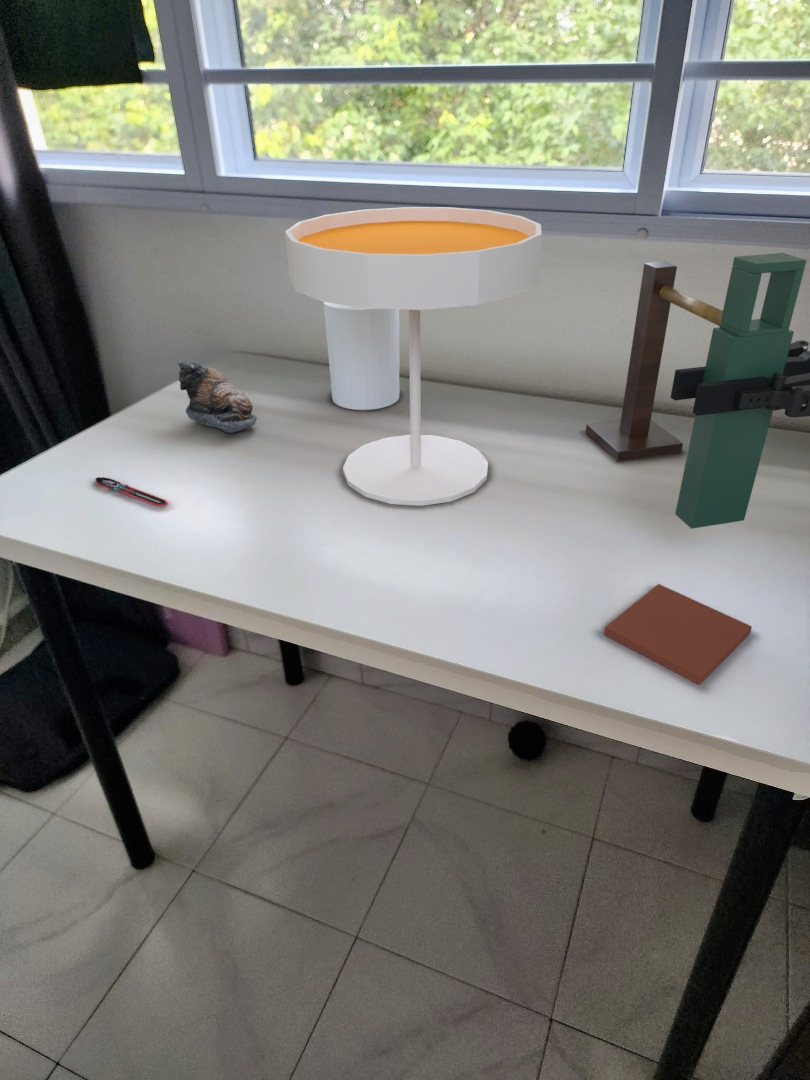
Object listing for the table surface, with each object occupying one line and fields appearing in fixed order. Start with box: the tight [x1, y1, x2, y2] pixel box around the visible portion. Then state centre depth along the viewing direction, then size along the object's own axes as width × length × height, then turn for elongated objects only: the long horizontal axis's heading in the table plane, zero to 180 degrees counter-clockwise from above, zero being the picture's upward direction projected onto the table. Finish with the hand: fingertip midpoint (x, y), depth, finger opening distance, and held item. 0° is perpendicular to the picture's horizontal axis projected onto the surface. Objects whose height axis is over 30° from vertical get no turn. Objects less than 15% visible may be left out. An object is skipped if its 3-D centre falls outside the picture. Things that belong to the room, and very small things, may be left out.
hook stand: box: [585, 260, 723, 462], centre depth 98 cm, size 22×10×25 cm, turn 14°
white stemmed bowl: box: [284, 206, 543, 507], centre depth 95 cm, size 30×30×31 cm
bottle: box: [323, 302, 400, 411], centre depth 119 cm, size 12×12×25 cm
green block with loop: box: [674, 252, 807, 529], centre depth 69 cm, size 3×6×25 cm, turn 104°
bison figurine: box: [177, 359, 258, 434], centre depth 114 cm, size 12×7×10 cm, turn 66°
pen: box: [94, 476, 169, 507], centre depth 98 cm, size 2×14×1 cm, turn 57°
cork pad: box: [603, 583, 753, 686], centre depth 72 cm, size 10×10×1 cm
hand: (686, 392), depth 67 cm, fingers closed on green block with loop, 3 cm apart
